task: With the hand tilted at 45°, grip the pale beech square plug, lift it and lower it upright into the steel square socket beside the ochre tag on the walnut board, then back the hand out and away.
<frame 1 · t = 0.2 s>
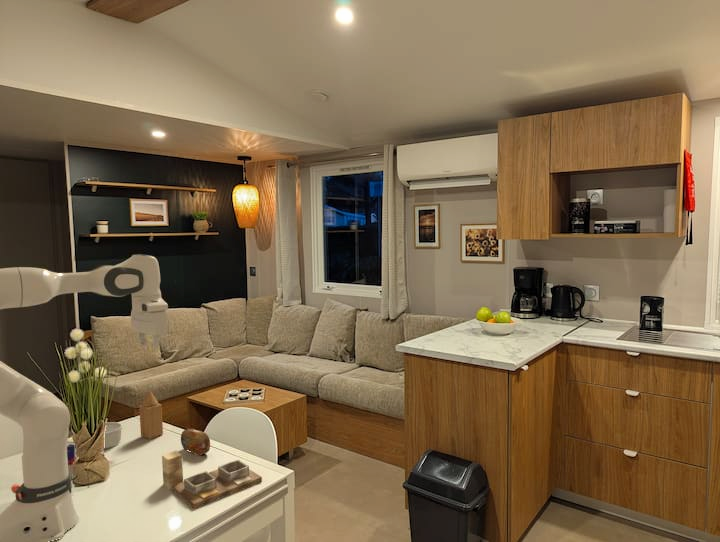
hand: (149, 346, 164), 48 cm above the table, tool pointing down, fingers open, 8 cm apart
wooden plug: (173, 484, 170), on the table
energy drink: (69, 478, 176), on the table
decorative item: (152, 436, 213), on the table
socket board: (217, 485, 168), on the table
tin: (196, 452, 195), on the table
ramekin: (105, 445, 205), on the table
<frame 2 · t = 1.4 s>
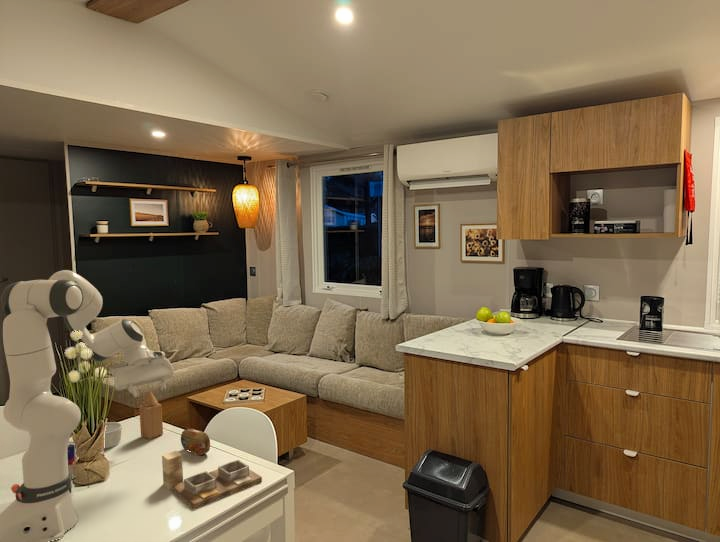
hand: (150, 392, 180), 28 cm above the table, tool tilted 45°, fingers open, 8 cm apart
nothing on the table moved.
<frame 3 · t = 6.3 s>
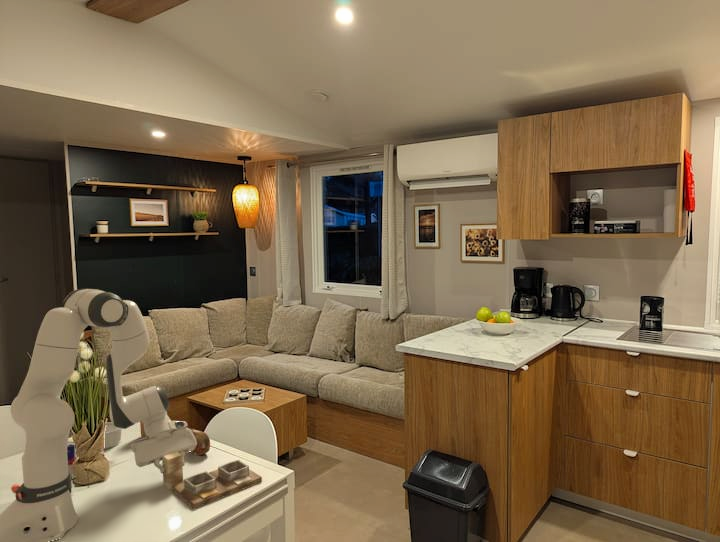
hand: (173, 469, 169), 5 cm above the table, tool tilted 45°, fingers closed on wooden plug, 5 cm apart
wooden plug: (173, 483, 170), on the table, touching gripper
everything else where it was.
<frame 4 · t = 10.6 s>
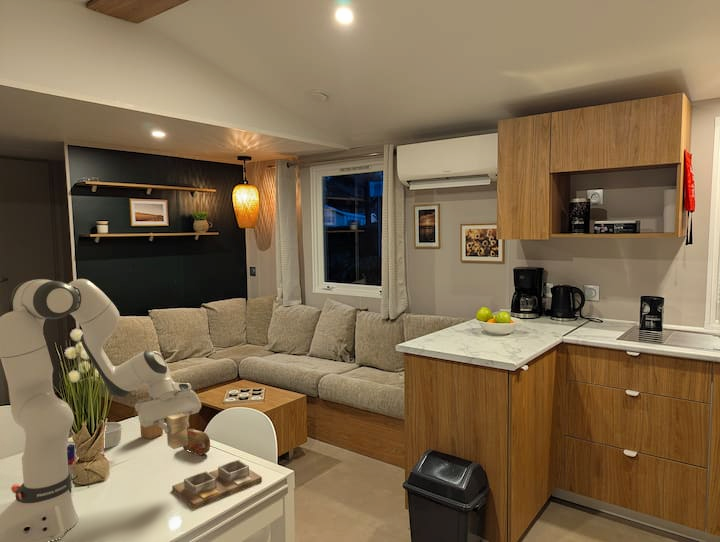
hand: (177, 429, 167), 19 cm above the table, tool tilted 45°, fingers closed on wooden plug, 5 cm apart
wooden plug: (177, 445, 168), point 14 cm above the table, touching gripper
everything else where it was.
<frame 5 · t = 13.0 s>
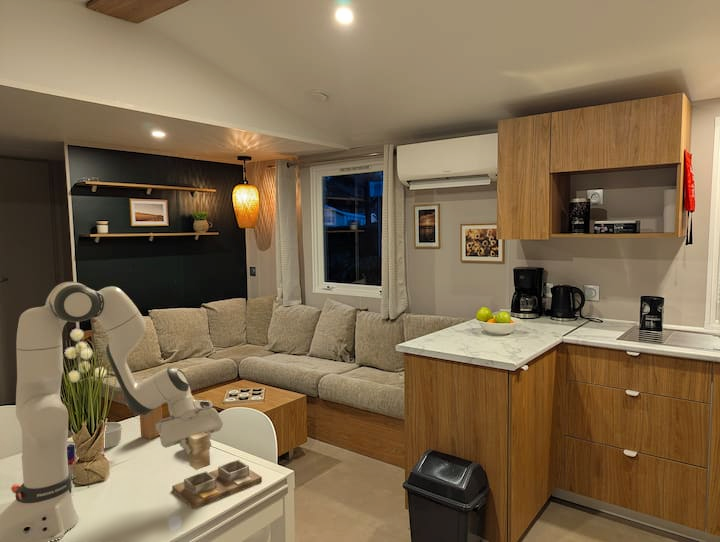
hand: (199, 449, 163), 14 cm above the table, tool tilted 45°, fingers closed on wooden plug, 5 cm apart
wooden plug: (199, 465, 164), point 9 cm above the table, touching gripper
everything else where it was.
when the fingers open (8 cm above the table, at t = 15.1 s): wooden plug drops 1 cm, resting on socket board.
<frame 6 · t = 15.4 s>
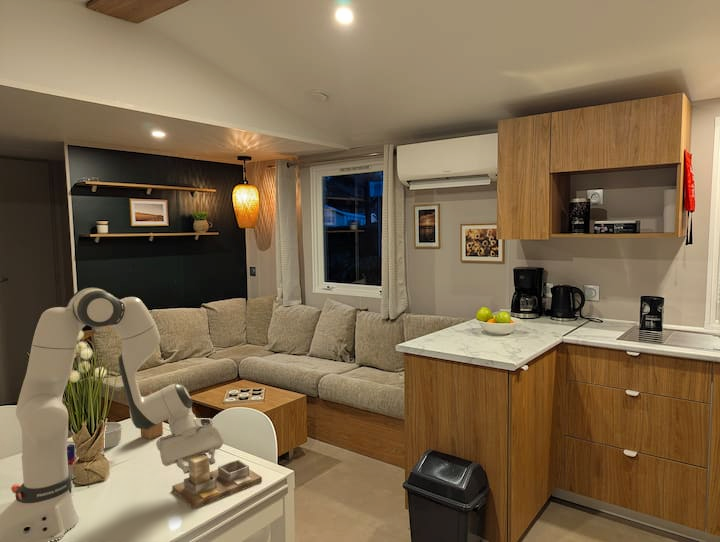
hand: (200, 467, 163), 8 cm above the table, tool tilted 45°, fingers open, 7 cm apart
wooden plug: (200, 487, 164), point 2 cm above the table, touching socket board
everything else where it was.
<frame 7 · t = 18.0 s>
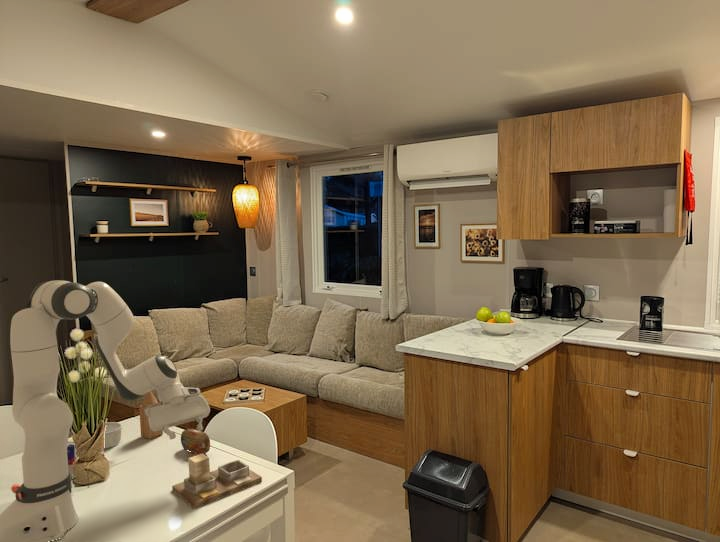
hand: (187, 434, 169), 17 cm above the table, tool tilted 45°, fingers open, 8 cm apart
nothing on the table moved.
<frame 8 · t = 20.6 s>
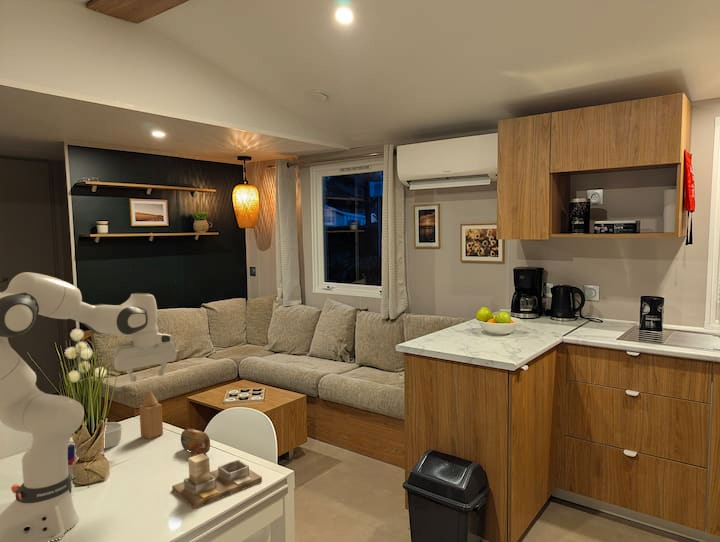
hand: (147, 378, 176), 34 cm above the table, tool pointing down, fingers open, 8 cm apart
nothing on the table moved.
at the end: wooden plug 0.1 cm from the target spot on the socket board, point 1.5 cm above the socket board's base; wooden plug tilted 0°; the gripper is holding nothing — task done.
